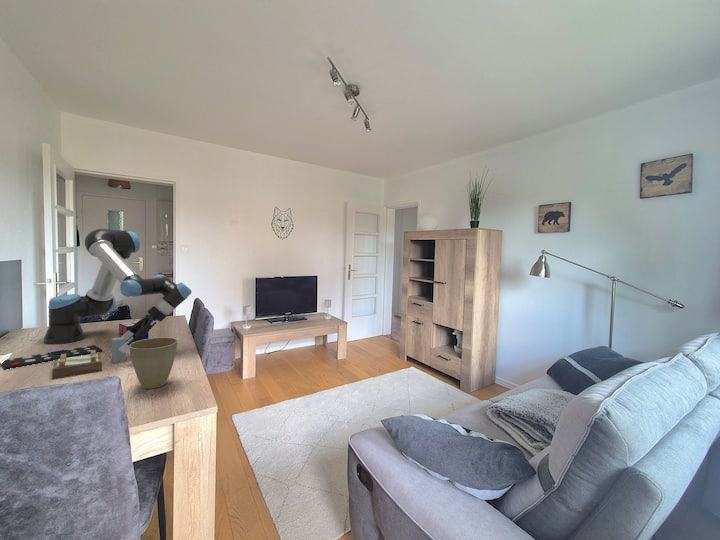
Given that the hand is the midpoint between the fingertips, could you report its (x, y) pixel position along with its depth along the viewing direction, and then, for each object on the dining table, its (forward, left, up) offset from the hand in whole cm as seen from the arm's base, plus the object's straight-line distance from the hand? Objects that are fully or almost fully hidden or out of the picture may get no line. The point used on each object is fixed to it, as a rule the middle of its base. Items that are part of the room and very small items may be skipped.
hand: (119, 347), depth 133 cm
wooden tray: (+3, -13, -6) cm, 15 cm away
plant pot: (+35, +8, -6) cm, 37 cm away
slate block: (-1, 0, -6) cm, 6 cm away
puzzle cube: (-30, +8, -6) cm, 31 cm away
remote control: (-20, -21, -7) cm, 30 cm away
